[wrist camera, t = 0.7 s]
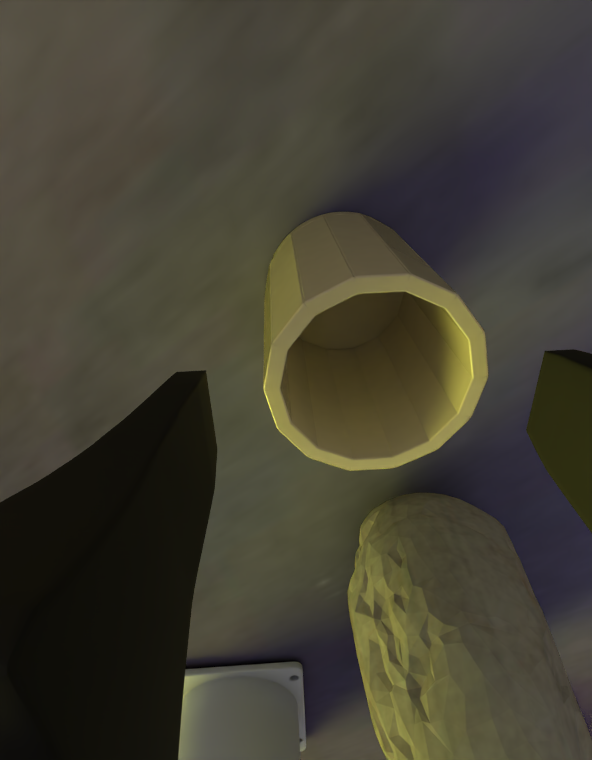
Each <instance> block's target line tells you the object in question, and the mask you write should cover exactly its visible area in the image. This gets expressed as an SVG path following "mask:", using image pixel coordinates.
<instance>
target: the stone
mask: <svg viewBox="0 0 592 760" xmlns="http://www.w3.org/2000/svg"><path fill="white" fill-rule="evenodd" d="M359 544H360V546H359V548H358V550H357V552H356V554H355V571H354V573H353V576H352V578H351V580H350V583H349V587H348V591H347V595H348V606H349V613H350V619H351V624H352V630H353V635H354V641H355V647H356V652H357V657H358V662H359V666H360V671H361V675H362V679H363V684H364V688H365V693H366V697H367V701H368V706H369V710H370V715H371V719H372V722H373V726H374V730H375V733H376V735H377V738H378V741H379V743H380V746H381V748H382V750H383V753H384V755H385V757H386V759H387V760H592V739H591V736H590V733H589V731H588V728H587V725H586V723H585V721H584V718H583V716H582V713H581V711H580V708H579V706H578V703H577V701H576V698H575V696H574V693H573V691H572V688H571V685H570V682H569V679H568V677H567V674H566V671H565V669H564V666H563V663H562V661H561V658H560V655H559V653H558V650H557V648H556V645H555V642H554V640H553V637H552V635H551V632H550V629H549V627H548V624H547V622H546V619H545V616H544V614H543V611H542V609H541V607H540V605H539V603H538V601H537V599H536V597H535V595H534V592H533V590H532V587H531V585H530V583H529V580H528V578H527V576H526V573H525V571H524V569H523V566H522V564H521V561H520V558H519V557H518V555H517V553H516V551H515V548H514V546H513V544H512V542H511V540H510V538H509V536H508V534H507V532H506V530H505V528H504V526H503V525H502V524H501V523H500V522H499V521H498V520H497V519H495V518H494V517H492V516H490V515H489V514H487V513H485V512H483V511H482V510H480V509H478V508H477V507H475V506H473V505H471V504H469V503H466V502H464V501H462V500H460V499H457V498H454V497H450V496H447V495H443V494H435V493H420V492H418V493H411V494H405V495H401V496H398V497H395V498H393V499H390V500H388V501H386V502H384V503H383V504H381V505H379V506H378V507H376V508H374V509H373V510H372V511H371V512H370V513H369V514H368V516H367V517H366V519H365V520H364V522H363V523H362V525H361V527H360V535H359Z"/></svg>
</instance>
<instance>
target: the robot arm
mask: <svg viewBox="0 0 592 760" xmlns="http://www.w3.org/2000/svg"><path fill="white" fill-rule="evenodd" d="M526 431H527V433H528V435H529V437H530V439H531V441H532V443H533V445H534V447H535V450H536V452H537V453H538V455H539V457H540V459H541V461H542V463H543V465H544V466H545V468H546V470H547V471H548V473H549V474H550V476H551V477H552V478H553V480H554V481H555V483H556V484H557V486H558V487H559V488H560V490H561V491H562V493H563V494H564V495H565V497H566V498H567V500H568V501H569V502H570V504H571V505H572V506H573V508H574V509H575V511H576V512H577V513H578V515H579V516H580V517H581V519H582V520H583V522H584V523H585V524H586V526H587V527H588V528H589V530H590V531H591V533H592V354H590V353H586V352H582V351H578V350H555V351H545V353H544V357H543V361H542V365H541V370H540V374H539V378H538V382H537V387H536V391H535V395H534V400H533V404H532V408H531V412H530V417H529V421H528V425H527V429H526ZM216 461H217V444H216V437H215V431H214V424H213V417H212V410H211V403H210V396H209V389H208V383H207V376H206V370H205V371H188V372H176V373H175V374H174V375H172V376H171V377H170V378H169V379H168V380H167V381H166V382H165V383H164V384H162V385H161V386H160V387H159V388H158V389H157V390H156V391H155V392H154V393H153V394H152V395H151V396H150V397H148V398H147V399H146V400H145V401H144V402H143V403H142V404H141V405H140V406H138V407H137V408H136V409H135V410H134V411H133V412H132V413H131V414H130V415H128V416H127V417H126V418H125V419H124V420H123V421H121V422H120V423H119V424H118V425H116V426H115V427H114V428H113V429H111V430H110V431H109V432H108V433H106V434H105V435H104V436H103V437H101V438H100V439H99V440H98V441H96V442H95V443H94V444H93V445H91V446H90V447H89V448H87V449H86V450H85V451H83V452H82V453H81V454H79V455H78V456H76V457H75V458H73V459H72V460H71V461H69V462H68V463H66V464H64V465H63V466H61V467H60V468H58V469H57V470H55V471H54V472H52V473H51V474H49V475H48V476H46V477H44V478H43V479H41V480H40V481H38V482H36V483H34V484H33V485H31V486H29V487H27V488H26V489H24V490H22V491H20V492H18V493H17V494H15V495H13V496H11V497H9V498H8V499H6V500H4V501H2V502H0V760H301V759H300V752H301V751H304V750H305V749H306V727H305V707H304V687H303V668H302V664H300V663H299V662H294V661H293V662H279V663H265V664H251V665H237V666H223V667H209V668H195V669H186V657H187V647H188V637H189V627H190V617H191V608H192V600H193V594H194V588H195V582H196V577H197V572H198V567H199V563H200V558H201V553H202V548H203V543H204V538H205V534H206V529H207V524H208V519H209V514H210V509H211V504H212V499H213V494H214V489H215V476H216Z"/></svg>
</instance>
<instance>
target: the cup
mask: <svg viewBox="0 0 592 760" xmlns="http://www.w3.org/2000/svg"><path fill="white" fill-rule="evenodd" d="M488 376H489V372H488V360H487V347H486V335H485V332H484V329H483V328H482V327H481V325H480V324H479V322H478V321H477V320H476V318H475V317H474V315H473V314H472V313H471V311H470V310H469V309H468V307H467V306H466V304H465V303H464V302H463V300H462V299H461V298H460V296H459V295H458V294H457V293H456V292H455V291H454V290H453V289H452V288H451V287H450V286H449V285H448V284H447V283H446V282H445V281H444V280H443V279H442V278H441V277H440V276H439V275H438V274H437V273H436V272H435V271H434V270H433V269H432V268H431V267H430V266H429V265H428V264H427V263H426V262H425V261H424V260H423V259H422V258H421V257H420V256H419V255H418V254H417V253H416V252H415V251H414V250H413V249H412V248H411V247H410V246H409V245H408V244H407V243H406V242H405V241H404V240H403V239H402V238H401V237H400V236H399V235H398V234H397V233H396V232H395V231H394V230H393V229H391V228H390V227H388V226H386V225H384V224H383V223H381V222H380V221H378V220H376V219H374V218H372V217H370V216H367V215H363V214H360V213H354V212H332V213H327V214H323V215H319V216H317V217H314V218H312V219H309V220H308V221H306V222H304V223H302V224H301V225H299V226H298V227H297V228H295V229H294V230H293V231H292V232H291V233H290V234H289V235H288V236H287V237H286V238H285V239H284V240H283V241H282V243H281V244H280V245H279V247H278V248H277V250H276V252H275V253H274V255H273V258H272V260H271V263H270V265H269V269H268V274H267V281H266V289H265V306H264V376H263V388H264V393H265V396H266V399H267V402H268V405H269V407H270V410H271V413H272V416H273V419H274V422H275V425H276V427H277V429H278V430H279V431H280V432H281V433H282V434H283V435H284V436H285V437H286V438H287V439H289V440H290V441H291V442H292V443H293V444H294V445H295V446H296V447H297V448H298V449H300V450H301V451H302V452H303V453H304V454H305V455H306V456H307V457H309V458H311V459H314V460H317V461H321V462H324V463H327V464H330V465H333V466H336V467H339V468H342V469H346V470H351V471H356V470H372V469H389V468H394V467H399V466H401V465H403V464H406V463H408V462H410V461H413V460H415V459H417V458H420V457H422V456H424V455H427V454H429V453H431V452H434V451H436V450H437V449H439V448H440V447H441V446H442V445H443V444H444V443H445V442H446V441H447V440H448V439H450V438H451V437H452V436H453V435H454V434H455V433H456V432H457V431H458V430H459V429H460V428H461V427H462V426H463V425H464V424H465V423H466V422H467V421H468V420H470V417H472V415H473V412H474V410H475V408H476V405H477V403H478V401H479V398H480V396H481V394H482V391H483V389H484V387H485V384H486V382H487V380H488Z"/></svg>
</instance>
